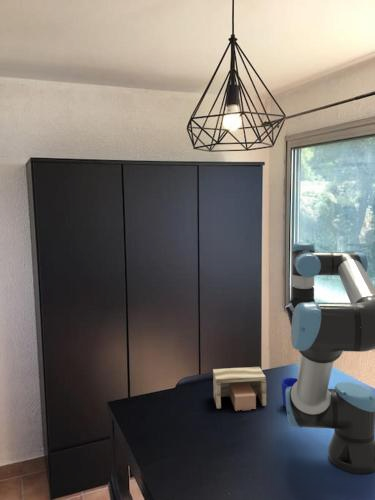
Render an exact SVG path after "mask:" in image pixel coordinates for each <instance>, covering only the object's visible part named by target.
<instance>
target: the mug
mask: <svg viewBox="0 0 375 500" xmlns="http://www.w3.org/2000/svg"><path fill="white" fill-rule="evenodd" d="M297 380H298V378H295V377H285V378H283V379H281V381H280V382H281V395H282V405H283V406H284V407H285V408H286V395H285V391H286V388H287V387H291V386H292V387H293V385H294V384H295V383H296V382H297Z"/></svg>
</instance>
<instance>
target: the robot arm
mask: <svg viewBox="0 0 375 500" xmlns="http://www.w3.org/2000/svg"><path fill="white" fill-rule="evenodd" d="M291 254H292V255H291V256H292V258H291V259H292V261H291V262H292V267H291V268H292V275H291V276H292V277H291V279H292V280H291V281H292V282H291V283H292V284H291V285H292V288H291V300H290V303H289V304H288V305H284V309H285V311H286V313H287V316H288V320H289V324H290V339H291V346H292V347H293V348H294V349H295V350H297V351H298V352H299V354H300V357H299V366H298V374H297V379H298V380H297V382H296V383H295V384H294V385H293V387H292V386H291V387H287V388H286V391H285V395H286V407H285V409H286V417H287V422H288V424H289V425H290V426H292V427H298V428H312V429H313V428H316V429H331V430H332V429H334V433H333V434H332V437H331V438H330V439H331V440H330V442H329V444H328V447H327V448H328V449H327V456H328V459H329V461H330V462H331V463H332V464H333V465H334V466H335V467H336V468H338V469H340V470H342V471H344V472H347V473H352V474H355V475H356V474H357V475H368V474H371V473H375V394H374V393H373V392H372V390H370V389H368V388H367V387H365V386H362V385H361V384H358V383H354V382H349V381H341V382H337V383H336V384H335V386H334V388H329V383H330V380H331V374H332V370H333V366H334V362H335V361H337V360H338V359H339V358H340V357H341V356H342V354H343V352H356V353H357V352H358V353H359V352H360V353H361V352H369V351H371V350H374V349H375V286H374V284H373V282H372V280H371V279H370V277H369V275H368V268H369V265H368V257H367V254H365V253H364V252H358V251H341V252H340V251H336V252H335V251H334V252H333V251H331V252H329V251H328V252H323V251H322V252H320V251H319V252H318V251H317V252H316V250H315V244H314V243H312V242H307V241H306V242H305V241H303V242H295V243H293V244H292V251H291ZM316 276H338V277H339V278H340V281H341V283H342V285H343V288H344V291H345V293H346V294H347V295H346V296H347V297H348V299H349V302H316V300H315V288H314V286H315V277H316Z"/></svg>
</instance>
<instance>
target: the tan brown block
mask: <svg viewBox="0 0 375 500" xmlns="http://www.w3.org/2000/svg"><path fill="white" fill-rule="evenodd" d="M229 398H230V401H231V403H232V407H233V408H234V411H236V412H239V411H240V410H242V411H252V410H251V409H257V407H256V406H257V399H256V398H257V395H255V393H254V391H253V389H252V387H251V385H250V383H249V382H244V383H230V396H229ZM238 410H239V411H238ZM240 412H241V411H240Z"/></svg>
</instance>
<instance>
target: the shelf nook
mask: <svg viewBox="0 0 375 500" xmlns="http://www.w3.org/2000/svg"><path fill="white" fill-rule="evenodd" d="M212 375H213V376H212V377H213V379H212V380H213V382H212V383H213V399H214V403H215V406H216V409H222V399H221V398H225V397H228V398H230V383H244V382H249V383H250V385H251V387H252V389H253V391H254V393H255V395H256V396H257V395H258V396H257V398H258V397H259V398H258V400H259V399H260V400H259V402H260V401H261V402H260V404H261V406H262V407H266V406H267V379H266V375H265V374H264V371H263V370H262V369H261V366H250V367H248V366H247V367H230V368H228V367H227V368H213V369H212Z"/></svg>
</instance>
